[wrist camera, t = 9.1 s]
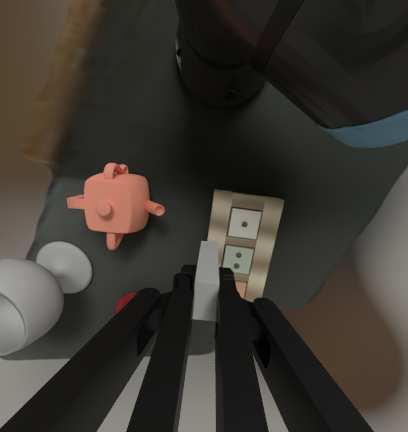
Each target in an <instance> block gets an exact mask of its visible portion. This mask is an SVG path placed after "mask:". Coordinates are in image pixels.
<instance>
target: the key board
mask: <svg viewBox="0 0 408 432" xmlns="http://www.w3.org/2000/svg"><path fill="white" fill-rule="evenodd" d="M283 205H284V200H282V199H280V198H274V197H267V196H260V195H252V194H245V193H237V192H230V191H223V190H215V189H214V196H213V203H212V210H211V217H210V224H209V231H208V238H207V241H209V242H217V246H218V264H219V267H222V265H221V264H222V258H223V252H224V246H225V244H231V245H238V246H245V247H253V249H254V251H253V256H252V261H251V265H250V270H249V274H242V273H235V272H233V273H234V278H235V280H239V281H246V283H247V284H246V289H245V294H244V299H245V300H248V301H251V302H253V301H254V299H256V298H259V297H260V298H262V294H263V290H264V286H265V282H266V277H267V273H268V269H269V265H270V260H271V256H272V252H273V248H274V243H275V239H276V235H277V231H278V226H279V222H280V218H281V214H282V209H283ZM231 206H233V207H241V208H248V209H255V210H259V211H261V212H262V213H261V217H260V222H259V227H258V232H257V237H256V239H249V238H242V237H234V236H228V233H227V228H228V222H229V216H230V210H231Z"/></svg>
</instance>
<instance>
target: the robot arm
mask: <svg viewBox="0 0 408 432" xmlns="http://www.w3.org/2000/svg"><path fill="white" fill-rule="evenodd" d="M175 2H176V6H177V11H178V15H179V22H178V27H177V32H176V40H175V53H176V60H177V65H178V68H179V71H180V74H181V77H182V80H183V82H184V84H185V85H186V87H187V89H188V90H189V91H190V92H191V94H192V95H193V96H194V97H195V98H197V99H198V100H199V101H201V102H202V103H204V104H206V105H209V106H212V107H216V108H230V107H234V106H238V105H240V104H242V103H244V102H246V101H247V100H249V99H250V98H251V97H253V96H254V95H255V94H256V93H257V92H258V91H259V89H260V88H261V87H262V85H263V84H264V82H265V80H267V81H268V82H269V83H271V84H272V85H273V86H274V87H275V88H276V89H277V90H279V91H280V92H281V93H282V94H283V95H284V96H285V97H287V98H288V99H289V100H290V101H291V102H292V103H293V104H295V105H296V106H297V107H298V108H299V109H300V110H301V111H303V112H304V113H305V114H306V115H307V116H308V117H309V118H311V119H312V120H313V121H314V122H315V125H316V126H317V127H318V128H319V129H321V130H323V131H327V132H329V133H330V134H331V135H332V136H334V137H335V138H336V139H338V140H339V141H340V142H342V143H343V144H345V145H347V146H350V147H361V148H376V147H383V146H388V145H392V144H396V143H400V142H403V141H406V140H408V0H175ZM192 319H197V320H207V321H216V325H215V334H214V338H215V364H216V366H215V367H216V368H215V370H216V432H269V431H268V427H267V422H266V417H265V412H264V407H263V402H262V397H261V393H260V388H259V383H258V378H257V373H256V369H255V364H254V359H253V355H254V357H255V359H256V361H257V363H258V366H259V367H260V370H261V372H262V374H263V376H264V379H265V381H266V383H267V385H268V387H269V390H270V392H271V394H272V396H273V398H274V400H275V403H276V405H277V407H278V409H279V411H280V414H281V416H282V418H283V420H284V423H285V425H286V427H287V429H288V431H289V432H374V431H373V430H372V429H371V427H370V426H369V425H368V423H367V422H366V421H365V419H364V418H363V417H362V416H361V414H360V413H359V412H358V411H357V409H356V408H355V407H354V405H353V404H352V403H351V401H349V399H348V398H347V396H346V395H345V394H344V393H343V391H342V390H341V389H340V387H339V386H338V385H337V383H336V382H335V381H334V380H333V378H332V377H331V376H330V374H329V373H328V372H327V371H326V369H325V368H324V367H323V366H322V364H321V363H320V362H319V360H318V359H317V358H316V356H315V355H314V354H313V353H312V351H311V350H310V349H309V347H308V346H307V345H306V344H305V342H304V341H303V340H302V338H301V337H300V336H299V334H298V333H297V332H296V331H295V329H294V328H293V327H292V325H291V324H290V323H289V322H288V320H287V319H286V318H285V316H284V315H283V314H282V313H281V311H280V310H279V309H278V307H277V306H276V305H275V304H274V303H273V302H272V301H271V300H269V299H266V298H260V297H259V298H256V299H254V301H253V302H251V301H248V300H245V299H243V298H242V297H241V296H240V294H239V292H238V291H237V288H236V283H235V278H234V273H233V271H232V270H231V268H226V267H219V264H218V246H217V242H209V241H201V246H200V252H199V258H198V265H187V264H185V265H184V266H183V267H182V269H181V272H180V273H178V274H176V275H175V276H174V278H173V291H171V292H168V293H163V294H160V292H159V291H158V290H157V289H155V288H145V289H142V290H141V291H139V292H138V293H137V294H136V295H135V296H134V297H133V298H132V299H131V300H130V301H129V302H128V303H127V304H126V305H125V306H124V307H123V308H122V309H121V310H120V311H119V312H118V313H117V314H116V315H115V316H114V317H113V318H112V319H111V320H110V321H109V322H108V323H107V324H106V325H105V326H104V327H103V328H102V329H101V330H100V331H99V332H98V333H97V334H96V335H95V336H94V337H93V338H92V339H91V340H90V341H89V342H88V343H87V344H85V345H84V346H83V347H82V348H81V349H80V350H79V351H78V352H77V353H76V354H75V355H74V356H73V357H72V358H71V359H70V360H69V361H68V362H67V363H66V364H65V365H64V366H63V367H62V368H61V369H60V370H59V371H58V372H57V373H56V374H55V375H54V376H53V377H52V378H51V379H50V380H49V381H48V382H47V383H46V384H45V385H44V386H43V387H42V388H41V389H40V390H39V391H38V392H37V393H36V394H35V395H34V396H33V397H32V398H31V399H30V400H29V401H28V402H27V403H26V404H25V405H24V406H23V407H22V408H21V409H20V410H19V411H18V412H17V413H16V414H15V415H14V416H13V417H12V418H11V419H9V420H8V422H7V423H5V424H4V425H3V426H2V427H1V428H0V432H97V430H98V428H99V427H100V425H101V424H102V422H103V421H104V419H105V417H106V416H107V414H108V413H109V411H110V410H111V408H112V406H113V405H114V403H115V402H116V400H117V398H118V397H119V395H120V394H121V392H122V391H123V389H124V387H125V386H126V384H127V382H128V381H129V379H130V378H131V376H132V375H133V373H134V371H135V370H136V368H137V367H138V365H139V364H140V362H141V360H142V359H143V357H144V356H145V354H146V353H147V351H148V349H149V348H150V346H151V345H152V343H153V341H154V340H155V338H156V337H157V340H156V343H155V346H154V349H153V352H152V355H151V358H150V361H149V364H148V367H147V370H146V373H145V376H144V379H143V382H142V386H141V389H140V391H139V394H138V397H137V401H136V404H135V407H134V410H133V413H132V416H131V419H130V422H129V425H128V428H127V431H126V432H178V425H179V418H180V410H181V403H182V395H183V387H184V380H185V372H186V365H187V358H188V350H189V343H190V335H191V328H192ZM157 335H158V336H157ZM252 352H253V354H252Z"/></svg>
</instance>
